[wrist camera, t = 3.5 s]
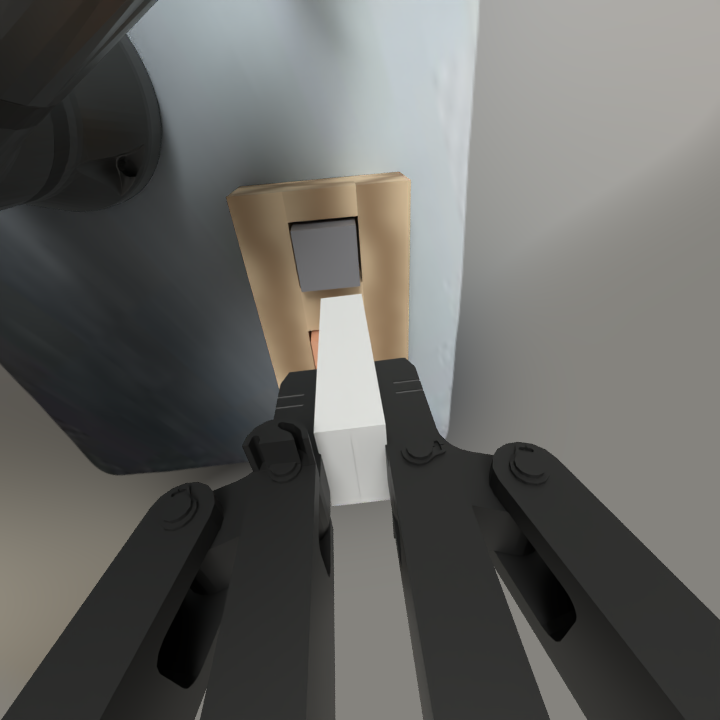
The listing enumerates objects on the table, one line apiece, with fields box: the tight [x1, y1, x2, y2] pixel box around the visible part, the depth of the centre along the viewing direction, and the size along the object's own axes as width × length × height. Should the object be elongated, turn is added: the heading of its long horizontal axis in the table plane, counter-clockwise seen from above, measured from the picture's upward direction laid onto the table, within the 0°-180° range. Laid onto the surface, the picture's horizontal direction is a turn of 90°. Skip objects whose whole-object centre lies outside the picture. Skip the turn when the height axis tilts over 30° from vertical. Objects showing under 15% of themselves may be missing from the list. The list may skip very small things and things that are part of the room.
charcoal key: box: [290, 216, 360, 292], centre depth 29 cm, size 5×5×4 cm
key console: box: [226, 172, 411, 389], centre depth 36 cm, size 14×30×5 cm, turn 4°
